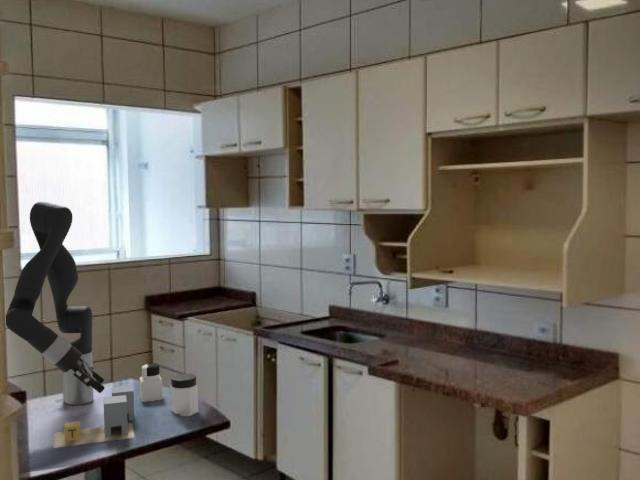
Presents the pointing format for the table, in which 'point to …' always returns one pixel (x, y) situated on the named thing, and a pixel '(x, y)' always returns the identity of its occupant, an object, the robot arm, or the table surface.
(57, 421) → the table surface
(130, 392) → the cube cover
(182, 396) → the jar
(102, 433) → the birch board
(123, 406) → the empty cover
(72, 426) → the letter cube
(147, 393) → the medicine bottle
